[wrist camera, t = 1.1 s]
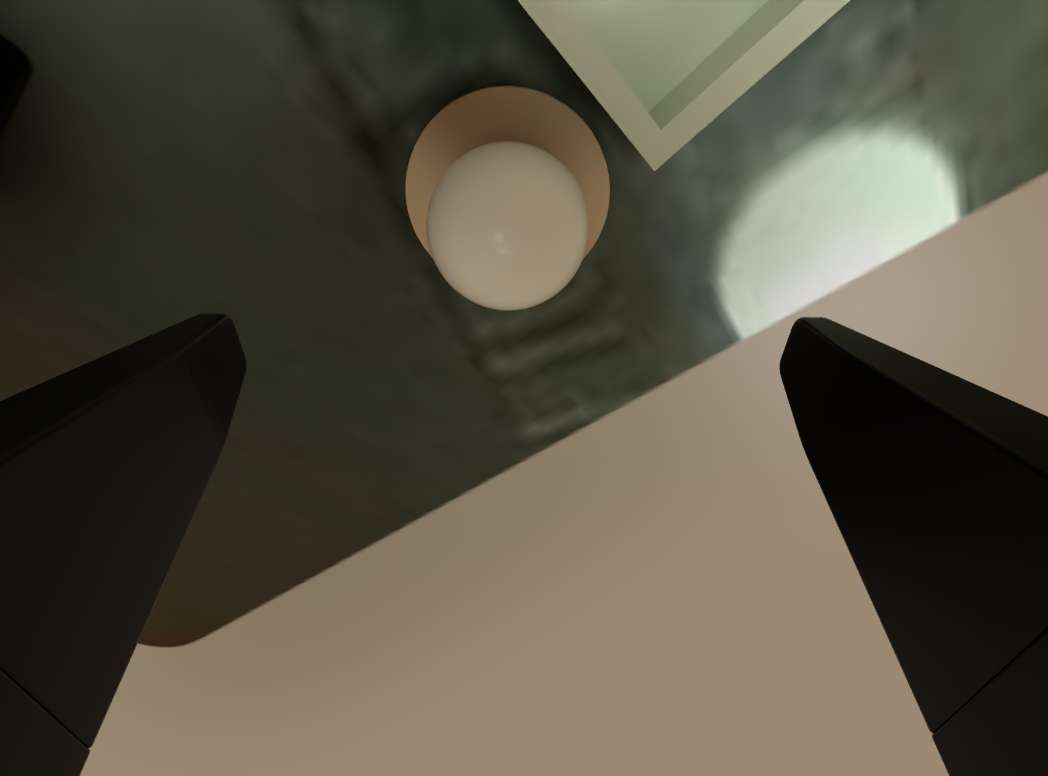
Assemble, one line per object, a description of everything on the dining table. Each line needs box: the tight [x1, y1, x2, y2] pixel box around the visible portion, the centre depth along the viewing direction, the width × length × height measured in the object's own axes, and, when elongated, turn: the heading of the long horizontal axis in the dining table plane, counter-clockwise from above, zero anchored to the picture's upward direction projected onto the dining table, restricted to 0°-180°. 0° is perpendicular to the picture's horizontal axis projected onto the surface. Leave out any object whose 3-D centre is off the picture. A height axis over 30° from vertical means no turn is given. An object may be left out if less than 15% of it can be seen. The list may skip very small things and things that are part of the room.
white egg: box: [426, 141, 589, 310], centre depth 18 cm, size 5×5×5 cm
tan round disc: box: [405, 85, 610, 259], centre depth 20 cm, size 7×7×1 cm
